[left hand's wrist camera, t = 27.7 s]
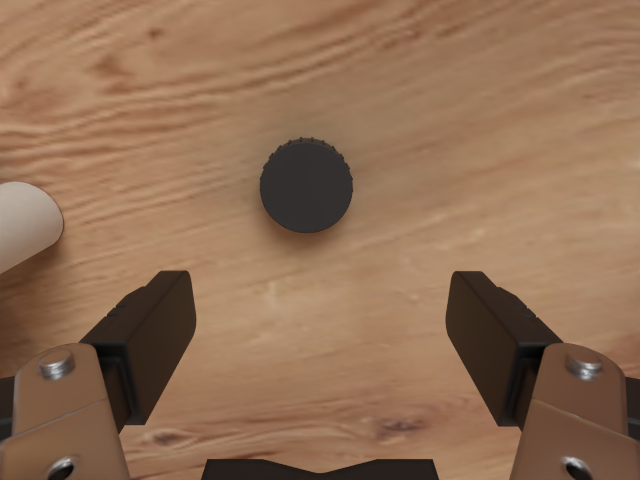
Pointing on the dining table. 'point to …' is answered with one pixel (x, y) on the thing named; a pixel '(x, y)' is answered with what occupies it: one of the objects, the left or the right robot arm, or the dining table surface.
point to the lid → (306, 185)
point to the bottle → (26, 223)
